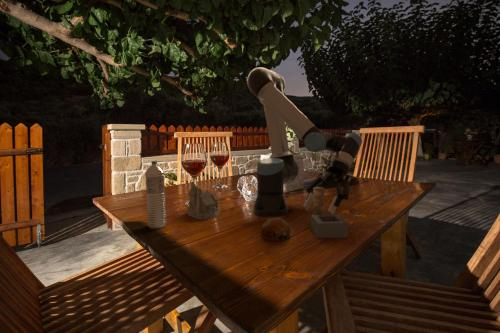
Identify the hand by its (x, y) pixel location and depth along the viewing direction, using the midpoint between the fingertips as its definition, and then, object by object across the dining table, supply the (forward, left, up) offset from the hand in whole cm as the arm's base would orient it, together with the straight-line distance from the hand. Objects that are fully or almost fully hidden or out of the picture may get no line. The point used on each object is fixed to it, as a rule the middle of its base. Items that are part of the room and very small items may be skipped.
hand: (317, 210), depth 106 cm
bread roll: (-17, -10, -6) cm, 20 cm away
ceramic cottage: (-44, +19, -6) cm, 49 cm away
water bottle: (-61, +3, -6) cm, 61 cm away
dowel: (+1, +3, -6) cm, 7 cm away
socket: (+2, -7, -6) cm, 10 cm away
